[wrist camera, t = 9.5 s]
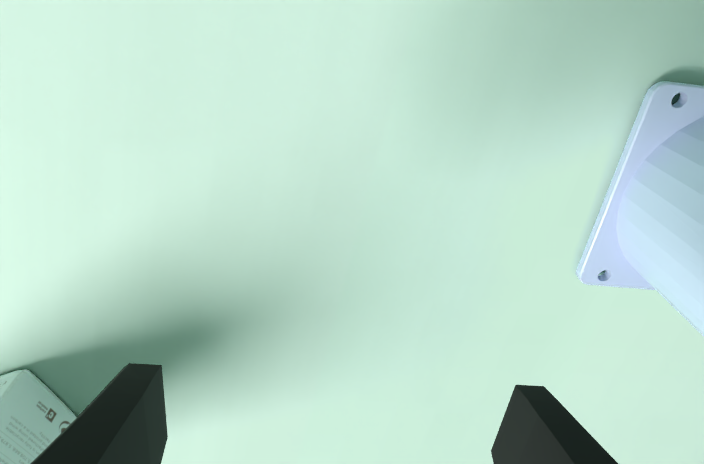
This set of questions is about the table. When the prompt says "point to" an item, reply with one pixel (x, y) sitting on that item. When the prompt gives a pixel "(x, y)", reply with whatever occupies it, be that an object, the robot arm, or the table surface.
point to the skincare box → (28, 417)
